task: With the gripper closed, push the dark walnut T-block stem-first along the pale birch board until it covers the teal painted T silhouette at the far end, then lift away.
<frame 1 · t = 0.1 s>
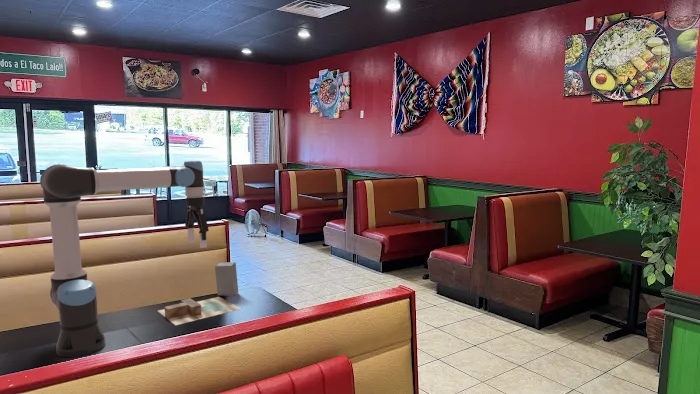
hand: (197, 245, 206), 28 cm above the table, fingers open, 13 cm apart
t block: (191, 311, 200), point 1 cm above the table, touching board
skincare box: (227, 296, 225), on the table
board: (199, 312, 203), on the table
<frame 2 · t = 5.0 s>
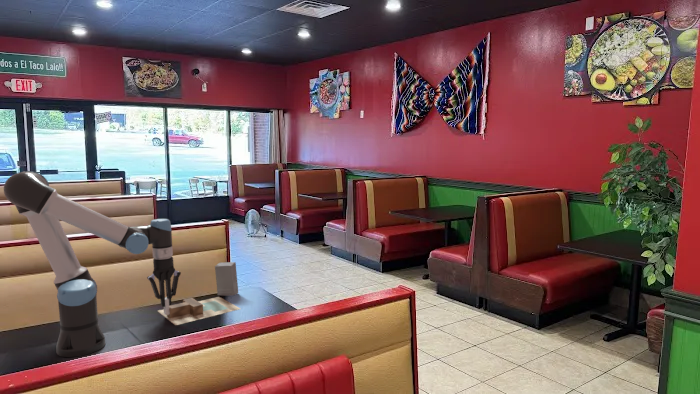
hand: (166, 313, 194), 3 cm above the table, fingers closed
t block: (193, 311, 201), point 1 cm above the table, touching gripper
everything else where it was.
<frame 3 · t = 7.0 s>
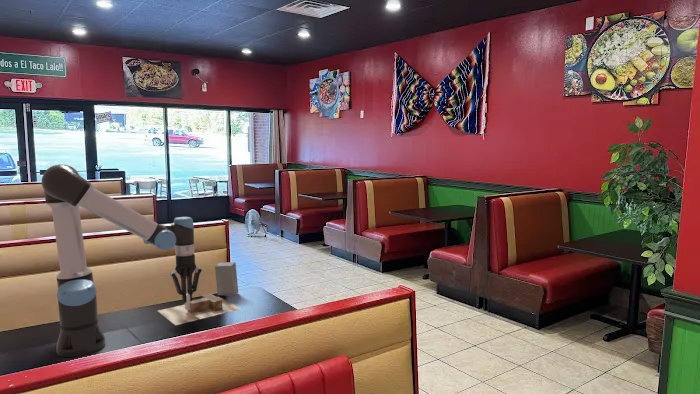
hand: (187, 309, 199), 3 cm above the table, fingers closed
t block: (212, 306, 206), point 1 cm above the table, touching board, gripper
everything else where it was.
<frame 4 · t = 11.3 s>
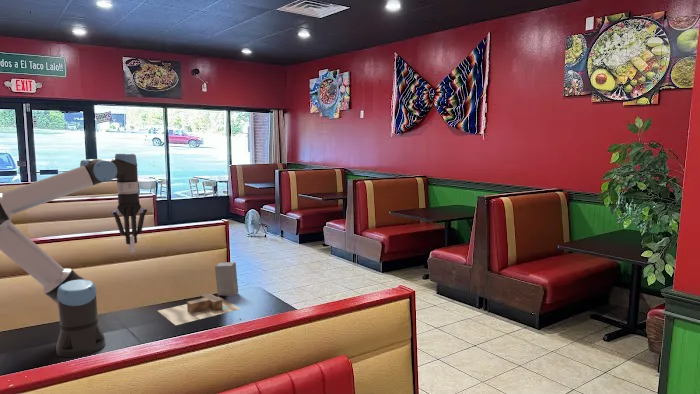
hand: (132, 251, 188), 29 cm above the table, fingers closed
t block: (212, 306, 206), point 1 cm above the table, touching board
everything else where it was.
at the end: t block 1.4 cm from the target spot, point 1.2 cm above the table; t block moved 9.4 cm from its start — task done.
